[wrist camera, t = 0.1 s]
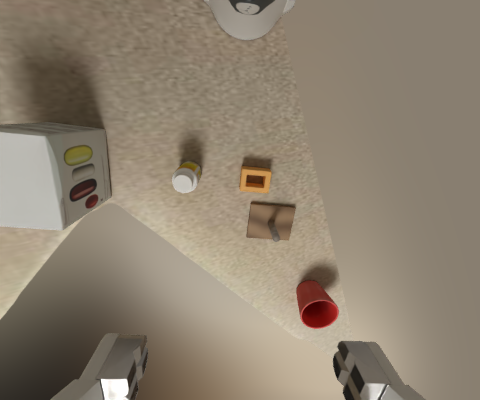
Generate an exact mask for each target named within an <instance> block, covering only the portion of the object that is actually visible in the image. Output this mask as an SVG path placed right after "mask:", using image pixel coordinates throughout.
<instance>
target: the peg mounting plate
mask: <svg viewBox="0 0 480 400" xmlns="http://www.w3.org/2000/svg"><path fill="white" fill-rule="evenodd" d="M295 209H296V208H295V207H294V206H282V205H270V204H257V203H251V205H250V213H249V221H248V228H247V238H261V239H273V241H275V242H277V241H279V240H289V237H290V233H291V228H292V223H293V218H294V214H295Z"/></svg>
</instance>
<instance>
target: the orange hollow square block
mask: <svg viewBox="0 0 480 400" xmlns="http://www.w3.org/2000/svg"><path fill="white" fill-rule="evenodd" d="M271 173H272V172H271V170H270V169H269V168H258V167H247V166H242V167H241V176H240V186H239V187H240V191H247V192H259V193H268V192H269V185H270V179H271ZM247 175H257V176H263V182H262V184H256V183H246V177H247Z"/></svg>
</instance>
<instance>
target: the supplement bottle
mask: <svg viewBox="0 0 480 400" xmlns="http://www.w3.org/2000/svg"><path fill="white" fill-rule="evenodd" d="M201 174H202V172H201V168H200V167H199V165H198V164H196V163H195V162H192V161H188V162H185V163H183V164H182V165H181V166H180V167H179V168H178V169H177V170H176V171H175V172H174V174H173V176H172V183H173V186H174V188H175V189H176V190H177V191H178V192H181V193H188V192H191V191H193V190H194V189H195V188H196V186H197V184H198V182H199V180H200V178H201Z"/></svg>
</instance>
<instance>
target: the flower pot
mask: <svg viewBox="0 0 480 400" xmlns="http://www.w3.org/2000/svg"><path fill="white" fill-rule="evenodd" d="M297 300H298V306H299V312H300V317H301V320H302V322H303V324H305V325H306V326H307V327H310V328H314V329H319V328H324V327H327V326H329V325H331V324H332V323H333V322H334V321H335V320H336V319H337V317H338V314H339V310H338V307H337V305H336V304H335V303H334V301H333V300H332V299H331V298H330V297H329V295H328V294H327V293H326V292H325V290H324V289H323V288H322V287H321V286H320V285H319V284H318V283H317V282H316V281H311V280H308V281H304V282H302V283H301V284H300V285H299V286H298V287H297Z"/></svg>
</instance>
